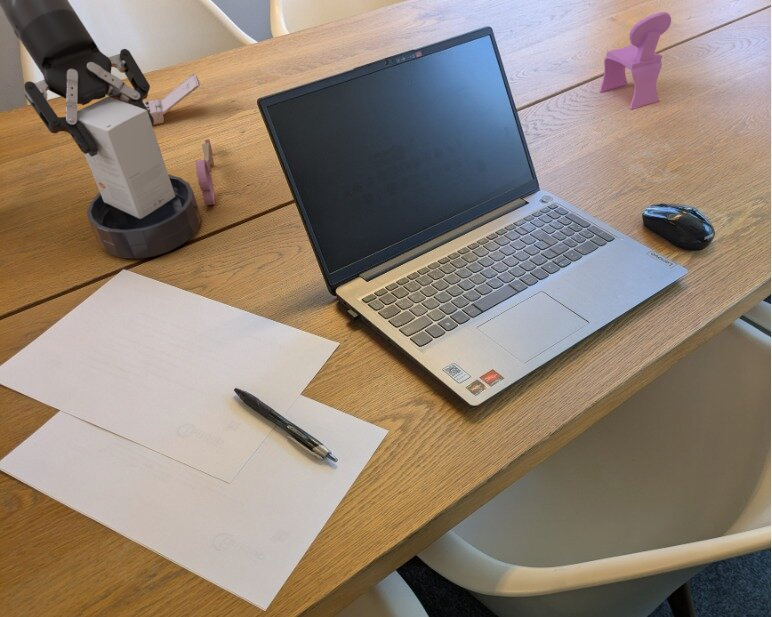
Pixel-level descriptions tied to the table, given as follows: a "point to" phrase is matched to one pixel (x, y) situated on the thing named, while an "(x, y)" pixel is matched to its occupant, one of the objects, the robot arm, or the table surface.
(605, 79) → the toy chair
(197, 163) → the decorative key
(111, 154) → the small box
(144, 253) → the bowl
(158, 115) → the mobile phone
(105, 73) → the robot arm
